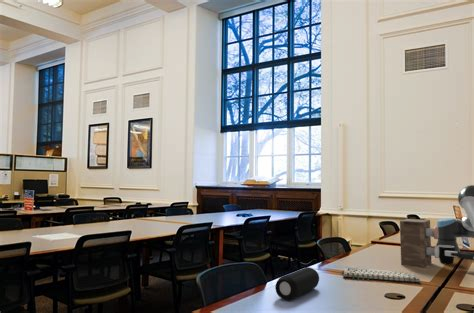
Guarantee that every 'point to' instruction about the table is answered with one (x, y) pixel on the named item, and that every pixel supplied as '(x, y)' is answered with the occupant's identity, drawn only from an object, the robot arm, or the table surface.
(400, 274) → the mechanical keyboard
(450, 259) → the mug
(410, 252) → the key console
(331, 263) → the table surface
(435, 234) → the terracotta key
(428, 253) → the white rounded piece
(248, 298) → the table surface
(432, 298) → the table surface
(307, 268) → the portable speaker
